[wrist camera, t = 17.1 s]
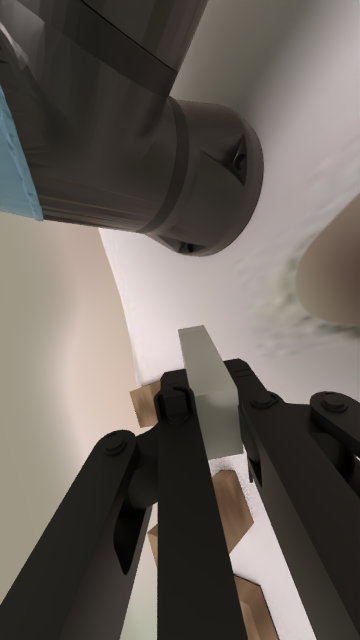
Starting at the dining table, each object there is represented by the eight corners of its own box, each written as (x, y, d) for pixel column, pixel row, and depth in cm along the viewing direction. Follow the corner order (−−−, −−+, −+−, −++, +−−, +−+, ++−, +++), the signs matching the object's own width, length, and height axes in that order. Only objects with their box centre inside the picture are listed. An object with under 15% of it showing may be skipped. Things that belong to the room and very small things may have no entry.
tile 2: (219, 469, 33) (146, 532, 25) (235, 470, 32) (161, 538, 23) (236, 518, 32) (165, 600, 24) (253, 522, 30) (182, 613, 22)
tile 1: (185, 371, 36) (142, 387, 45) (171, 376, 34) (129, 391, 43) (199, 413, 35) (153, 421, 43) (186, 421, 33) (140, 427, 41)
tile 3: (260, 585, 31) (196, 557, 39) (248, 605, 29) (183, 571, 37) (280, 643, 30) (209, 601, 38) (269, 667, 28) (197, 618, 36)
